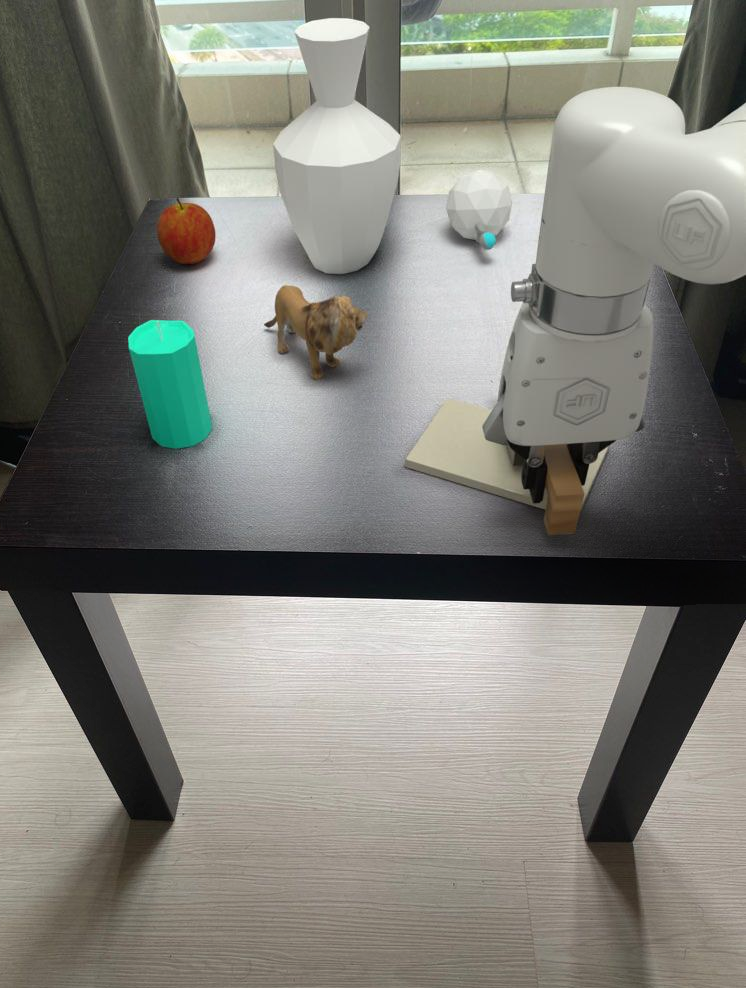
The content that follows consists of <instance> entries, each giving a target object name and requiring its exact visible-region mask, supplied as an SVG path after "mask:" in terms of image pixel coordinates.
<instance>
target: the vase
mask: <svg viewBox="0 0 746 988" xmlns="http://www.w3.org/2000/svg"><path fill="white" fill-rule="evenodd" d="M369 32H370V25H368V24H367V23H366V22H365V21H362V20H358V19H354V18H348V17H347V18H346V17H345V18H344V17H342V18H341V17H328V18H322V19H316V20H311V21H307V22H306V23H303V24H300V25H298V27H296V29H295V30H294V35H295V38H296V41H297V44H298V47H299V50H300V54H301V57H302V60H303V63H304V67H305V70H306V73H307V76H308V80H309V82H310V85H311V89H312V92H313V95H314V98H315V101H314V102H313V103H312V104H311V105H310V106H309V107H308V108H306V109H305V110H304V111H303V112H302V113H301V114H299V115H298V116H296V118H295V119H293V120H292V121H291V122H290V123H289V124H288V125H286V126H285V127H284V128H283V129H282V130H281V131H280V132H279V134H278V135H277V137H276V138H275V140H274V142H273V143H272V148H273V159H274V169H275V175H276V179H277V180H276V181H277V185H278V189H279V194H280V196H281V199H282V201H283V204H284V207H285V209H286V212H287V215H288V218H289V219H290V222H291V225H292V228H293V230H294V233H295V234H296V237H297V238H298V240H299V242H300V244H301V245H302V247H303V249H304V251H305V253H306V254H307V256H308V258H309V260H310V262H311V264H312V265H313V268H314V269H315V270H317V271H320V272H322V273H325V274H328V275H329V274H331V275H345V274H349V273H354V272H358V271H359V270H361V269H362V268H364V267H365V266H367V265H368V264H370V262H371V260H372V259H373V257H374V256H375V254H376V253H377V251H378V248H379V246H380V245H381V241H382V238H383V235H384V232H385V229H386V227H387V224H388V220H389V216H390V213H391V209H392V205H393V202H394V198H395V194H396V191H397V187H398V183H399V178H400V177H399V176H400V169H401V161H402V160H401V156H402V155H401V151H402V150H401V149H402V145H401V144H402V136H401V134H399V132H398V131H397V130H396V129H395V128H394V127H393V126H392V125H391V124H390V123H388V121H386V120H384V119H383V118H382V117H380V116H378V115H377V114H375V113H374V112H373V111H371V110H370V109H369V108H367V107H365V106H364V105H363V104H361V103H360V102H359V101H357V100H355V97H356V92H357V87H358V82H359V78H360V73H361V69H362V64H363V60H364V55H365V50H366V46H367V41H368V37H369Z"/></svg>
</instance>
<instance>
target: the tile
mask: <svg viewBox="0 0 746 988" xmlns="http://www.w3.org/2000/svg"><path fill="white" fill-rule="evenodd" d="M492 410H493V409H489V408H486V407H483V406H479V405H475V404H473V403H468V402H466V401H461V400H457V399H454V398H450V397H447V398H446V400H445V401H444V402H443V404H442V405H441V407H440V408H439V410H438V411H437V412H436V414H435V416H434V417H433V418H432V419H431V421H430V423H429V424H428V426H427V427H426V429H425V430H424V431H423V433H422V434H421V436H420V437H419V439H418V440H417V442H416V443H415V444H414V446H413V448H412V449H411V451H410V452H409V453H408V455H407V456H406V457H405V459H404V460H405V463H404V464H405V465H404V467H405V468H408V469H411V470H414V471H418V472H421V473H424V474H427V475H430V476H434V477H437V478H439V479H443V480H447V481H450V482H454V483H456V484H460V485H463V486H466V487H468V488H469V487H470V488H473V489H475V490H480V491H481V492H486V493H489V494H493V495H496V496H499V497H502V498H505V499H508V500H512V501H515V502H519V503H522V504H525V505H528V506H531V507H534V508H539V509H542V510H546V505H547V499H548V494H547V491H546V487H545V490H544V496H543V501H542V502H540V503H537V504H533V501H532V498H531V494H530V491H529V489H525V490H524V489H523V485H522V481H521V475H522V468H523V465H520V466H513V464H512V461H511V457H510V454H509V450H508V447H507V445H501V444H497V443H494V442H491V441H488V440H486V439H485V436H484V432H483V429H482V426H483V424H484V422H485V421H486V419H487V418H488V416H489V415H490V413H491V412H492ZM610 448H611V445H609V446H608V447H607V448H605V449H604V450H602V451H601V452H600V453H598V458H597V460H596V461H595V462H594V463H591V464H589V469H588V473H587V478H586V482H585V485H584V486H582V488H583V491H584V493H585V494H584V498H583V502H582V507H581V510H580V513H579V515H581V512H582V510H583V507H584V505H585V503H586V501H587V499H588V497H589V494H590V493H591V490H592V488H593V486H594V483H595V481H596V479H597V477H598V475H599V473H600V470H601V468H602V466H603V464H604V462H605V459H606V457H607V454H608V452H609V450H610Z"/></svg>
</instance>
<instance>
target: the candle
mask: <svg viewBox="0 0 746 988" xmlns="http://www.w3.org/2000/svg"><path fill="white" fill-rule="evenodd" d="M127 341H128V350H129V355H130V357H131V362H132V366H133V369H134V372H135V377H136V381H137V385H138V388H139V393H140V396H141V397H140V398H141V400H142V405H143V408H144V412H145V416H146V420H147V423H148V427H149V431H150V436H151V438H152V440H153V441H155V442H156V443H157V444H158V445H159V446H160V447H164V448H169V449H175V450H177V449H184V448H191V447H193V446H196V445H197V444H199V443H202V442H203V441H204V440H206V439H207V438H208V436H209V435H210V433H211V432H212V431H213V426H212V425H213V424H212V418H211V414H210V407H209V404H208V398H207V392H206V387H205V382H204V377H203V371H202V366H201V361H200V357H199V356H200V355H199V350H198V346H197V340H196V335H195V331H194V329H193V328H192V327H191V326H190V325H189V324H187V322H185V321H184V320H166V319H165V320H163V319H150V320H148V321H146V322H144V323H142V324H141V325H139V326H137V327H135V329H134V330H133V331H132V332H131V333H130V334H129V336H128V337H127Z"/></svg>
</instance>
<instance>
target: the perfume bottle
mask: <svg viewBox="0 0 746 988" xmlns="http://www.w3.org/2000/svg"><path fill="white" fill-rule="evenodd" d="M510 191H511V190H510V185H509V184H508V183H507V182H505V180H504V179H502V178H501V177H500V176H499V175H498V174H497V173H496V172H492V171H488V170H483V169H480V168H479V169H476V170H473V171H470V172H467V173H465V174H462V175H460V176H459V178H458V179H457V180H456V182H454V184H453V185H452V186H451V188H450V189H449V190H448V195H447V200H446V204H445V205H446V206H445V210H446V213H447V217H448V222H449V224H450V227H452V228H453V229H454V230H455V231H456V232H457V233H458V234H459V235H460V236H461V237H462V238H464V239H467V240H468V239H469V240H473V241H475V242H476V243H479V246H480V248H482V249H483V250H485V251H491V250H492V248H495V245H496V242H497V237H496V236H497V235H498V234H499V233H500V232H501V230H502V229H503V228H504V227H505V226H506V225H507V223H508V222H509V221H510V218H511V213H512V205H513V200H512V195H511V192H510Z"/></svg>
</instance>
